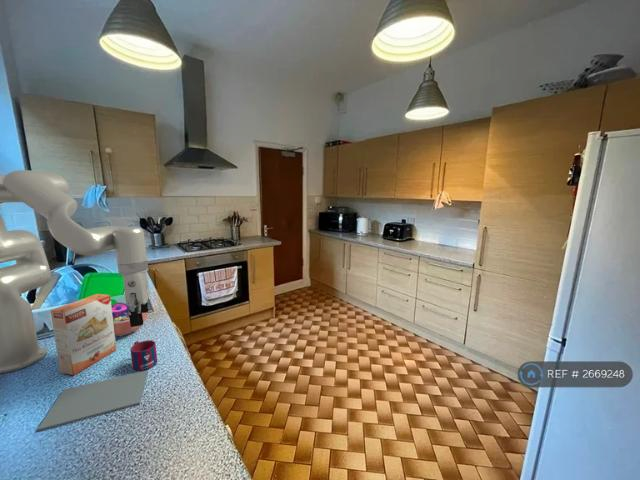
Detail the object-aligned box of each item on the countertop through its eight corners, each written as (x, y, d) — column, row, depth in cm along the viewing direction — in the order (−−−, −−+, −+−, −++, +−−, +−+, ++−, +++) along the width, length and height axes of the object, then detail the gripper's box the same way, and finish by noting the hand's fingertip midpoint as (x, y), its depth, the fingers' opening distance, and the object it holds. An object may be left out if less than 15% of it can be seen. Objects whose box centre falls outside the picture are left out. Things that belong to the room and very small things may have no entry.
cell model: (100, 350, 93) (96, 320, 91) (92, 330, 107) (88, 303, 105) (155, 333, 105) (152, 306, 103) (141, 316, 119) (139, 292, 117)
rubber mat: (37, 431, 62) (37, 429, 62) (64, 391, 74) (63, 389, 74) (139, 404, 70) (139, 402, 70) (148, 372, 83) (147, 370, 82)
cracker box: (74, 376, 80) (64, 312, 77) (59, 373, 81) (48, 309, 78) (118, 350, 94) (110, 294, 90) (104, 348, 95) (96, 292, 91)
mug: (135, 374, 81) (133, 354, 80) (127, 360, 88) (125, 342, 87) (160, 364, 86) (158, 345, 85) (150, 352, 93) (148, 334, 92)
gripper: (142, 273, 75) (149, 328, 78) (151, 259, 91) (157, 306, 94) (110, 276, 72) (118, 334, 75) (125, 262, 88) (131, 310, 91)
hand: (140, 318), depth 84 cm, fingers open, 9 cm apart
